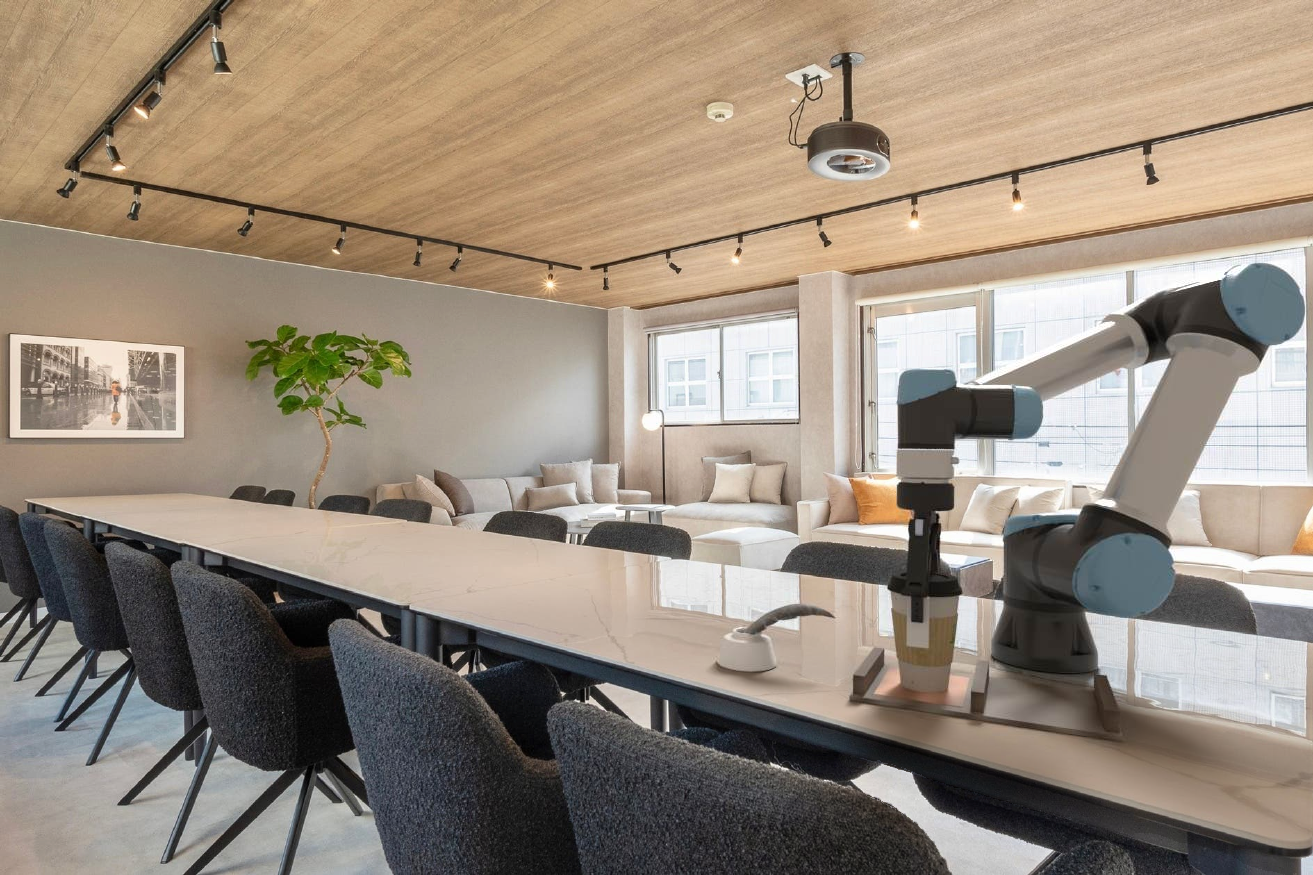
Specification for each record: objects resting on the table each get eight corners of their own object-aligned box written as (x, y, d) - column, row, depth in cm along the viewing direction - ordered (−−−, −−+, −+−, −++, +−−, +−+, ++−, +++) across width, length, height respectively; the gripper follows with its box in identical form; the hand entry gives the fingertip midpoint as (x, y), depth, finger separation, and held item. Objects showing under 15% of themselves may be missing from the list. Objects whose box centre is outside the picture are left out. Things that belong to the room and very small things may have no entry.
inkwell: (725, 653, 124) (726, 590, 124) (839, 665, 118) (840, 599, 118) (709, 668, 115) (710, 601, 115) (831, 682, 109) (832, 611, 109)
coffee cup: (974, 684, 106) (974, 575, 106) (945, 702, 99) (945, 585, 99) (905, 670, 113) (905, 567, 113) (874, 685, 106) (874, 576, 106)
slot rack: (849, 699, 101) (849, 676, 101) (873, 665, 118) (873, 645, 118) (1123, 741, 88) (1123, 714, 88) (1107, 696, 104) (1107, 673, 104)
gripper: (946, 485, 93) (944, 661, 93) (961, 478, 116) (959, 620, 116) (882, 483, 97) (880, 653, 96) (909, 477, 119) (907, 614, 119)
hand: (923, 635), depth 106 cm, fingers open, 13 cm apart
